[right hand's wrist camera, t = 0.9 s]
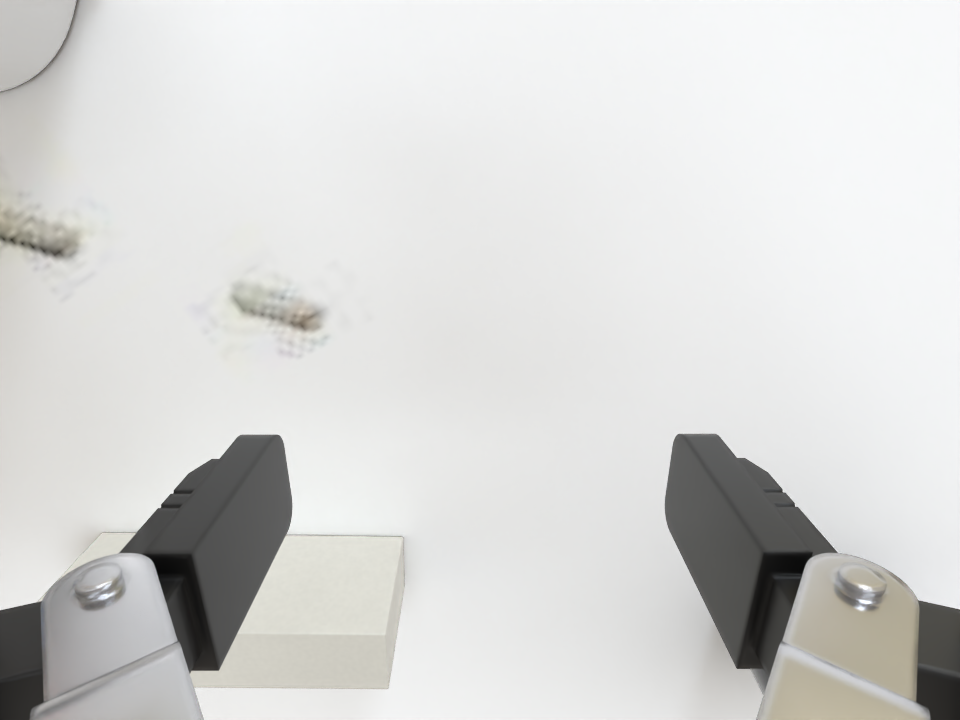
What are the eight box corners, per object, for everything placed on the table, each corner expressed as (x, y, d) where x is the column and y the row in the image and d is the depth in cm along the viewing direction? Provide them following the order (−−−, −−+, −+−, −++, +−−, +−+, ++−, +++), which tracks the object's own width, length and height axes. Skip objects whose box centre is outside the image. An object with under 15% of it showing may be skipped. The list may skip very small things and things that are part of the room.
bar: (403, 536, 43) (385, 634, 35) (404, 584, 45) (388, 689, 37) (101, 532, 43) (9, 630, 34) (115, 581, 45) (30, 686, 36)
